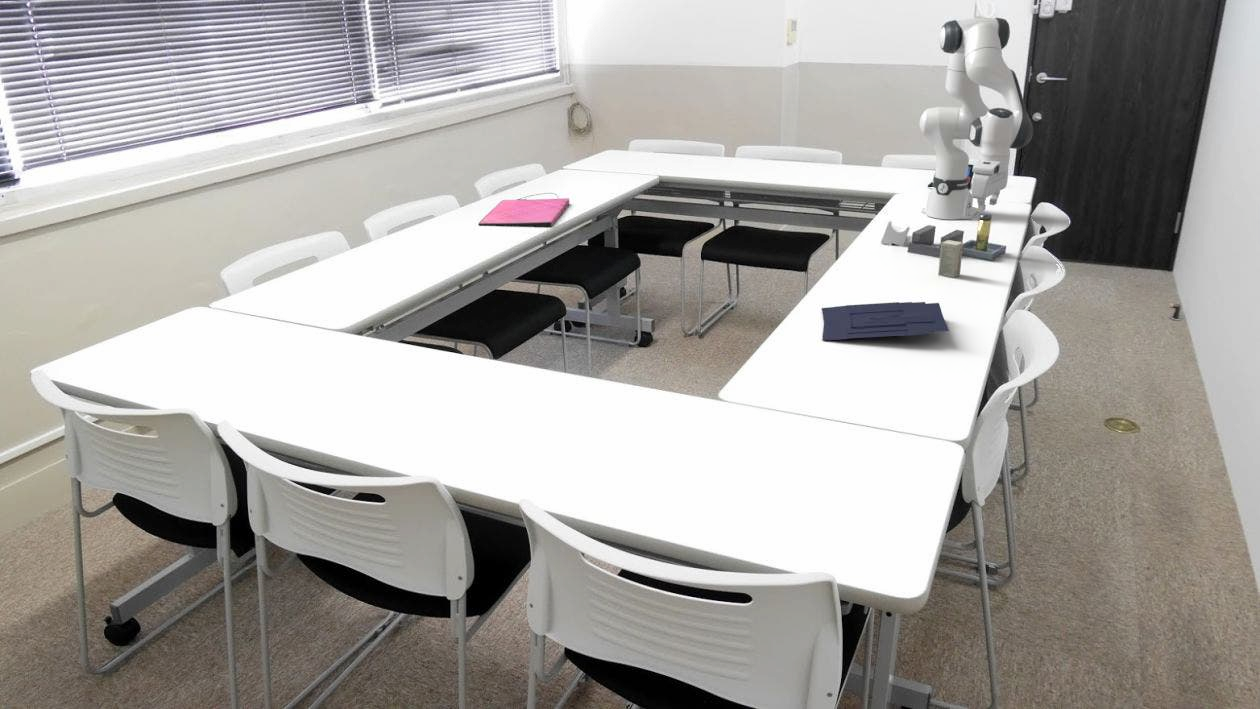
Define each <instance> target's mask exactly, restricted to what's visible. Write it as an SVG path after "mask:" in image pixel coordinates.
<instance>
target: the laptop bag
mask: <svg viewBox="0 0 1260 709" xmlns="http://www.w3.org/2000/svg"><path fill="white" fill-rule="evenodd" d="M547 194H549V192H544V193H543V195H547ZM551 194H553V195H555V196H556V197H557V198H545V199H544V198H542V199H541V198H540V199H539V198H538V199H537V198H536V199H527V197H528V198H529V197H532V196H534V194H533V195H527V196H525V197H521V198H517V199H502V200H501V201H500V202H499V203H498V204H497V205H495V207H493V209H491V210H490V211H489V212H488V213H487V214H486V215H485V216H484V217H483V218H482V219H481V220H480V221H479V222H478V226H479V227H481V226H482V227H483V226H484V227H528V228H529V227H531V228H534V227H535V228H552V227H553V225H554V224H555V223H556V222H557V221H558V219H559V218H561V216H562V214H563V213H564V212H565V211H566V209H567V208H568V206H569V205H570V198H567V197H565V198H564V197H563V198H559V197H558V195H557V194H556V193H554V192H551ZM537 195H541V193H538V194H535V196H537Z"/></svg>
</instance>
